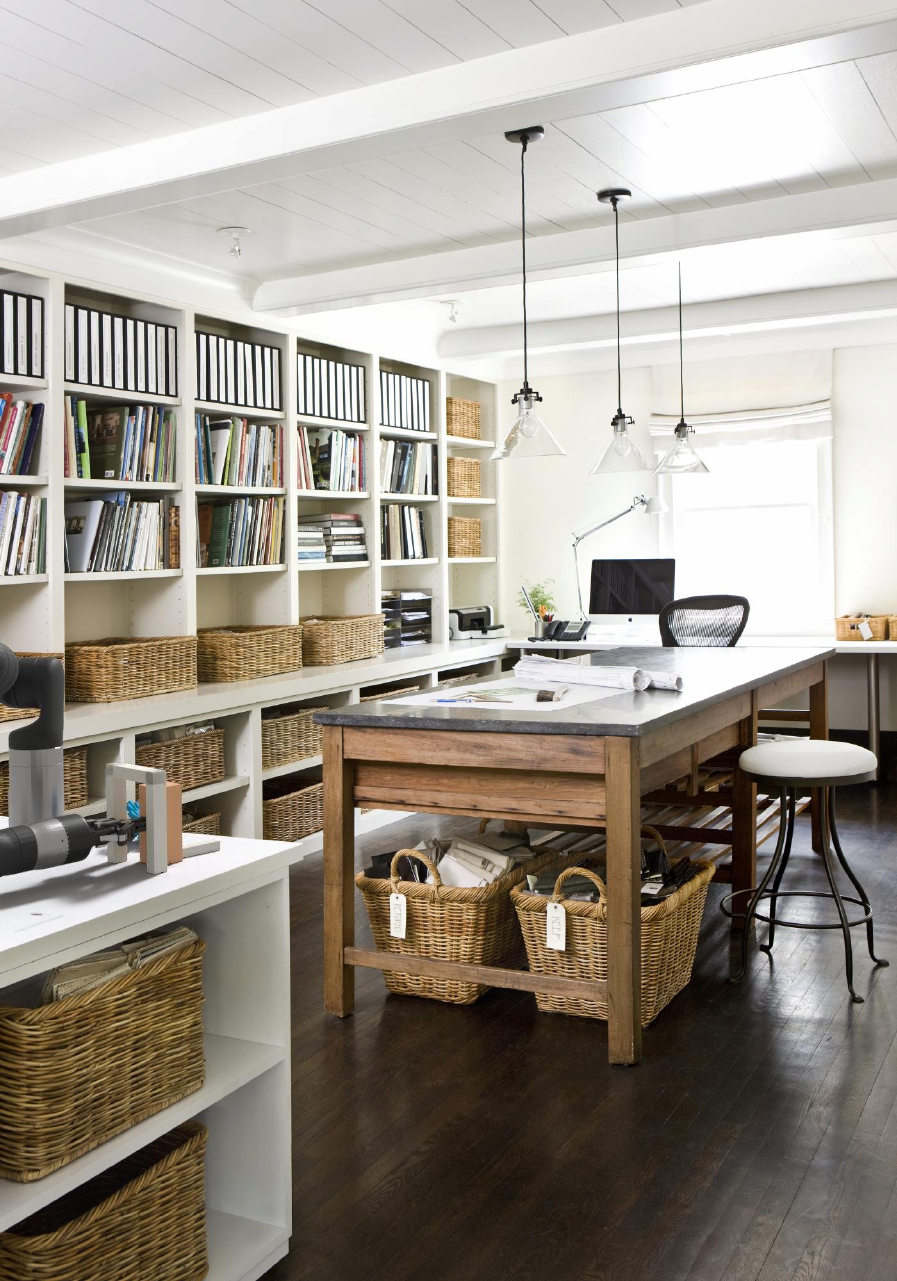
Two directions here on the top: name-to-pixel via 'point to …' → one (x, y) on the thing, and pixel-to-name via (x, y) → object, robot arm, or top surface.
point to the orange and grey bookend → (173, 827)
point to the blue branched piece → (133, 812)
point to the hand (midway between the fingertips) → (147, 822)
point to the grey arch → (154, 811)
